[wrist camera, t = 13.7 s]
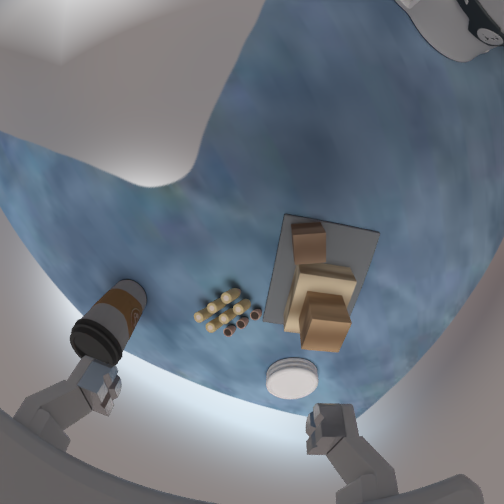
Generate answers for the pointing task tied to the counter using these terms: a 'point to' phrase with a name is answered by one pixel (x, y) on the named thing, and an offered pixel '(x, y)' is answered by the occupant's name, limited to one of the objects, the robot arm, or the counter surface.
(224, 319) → the ammunition
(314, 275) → the base block
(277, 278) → the mat
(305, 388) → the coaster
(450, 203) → the counter surface
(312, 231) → the block
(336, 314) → the oak block
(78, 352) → the coffee cup
